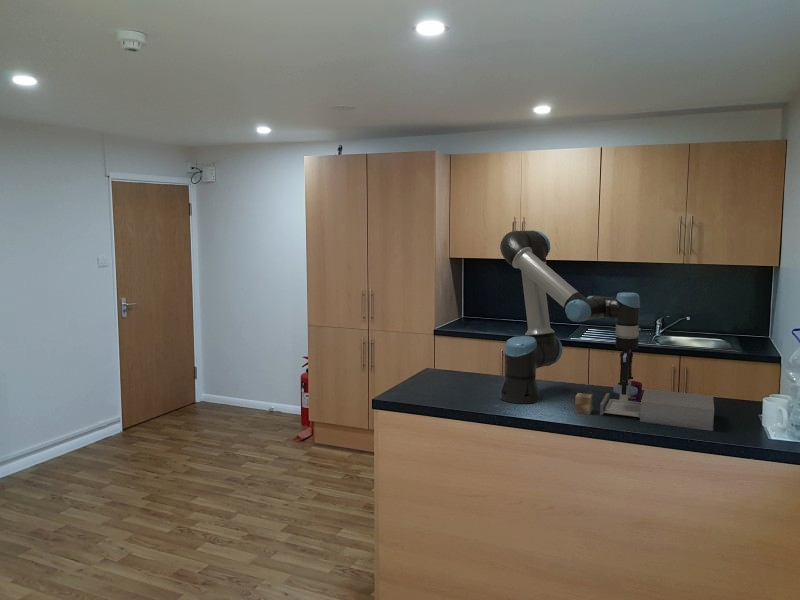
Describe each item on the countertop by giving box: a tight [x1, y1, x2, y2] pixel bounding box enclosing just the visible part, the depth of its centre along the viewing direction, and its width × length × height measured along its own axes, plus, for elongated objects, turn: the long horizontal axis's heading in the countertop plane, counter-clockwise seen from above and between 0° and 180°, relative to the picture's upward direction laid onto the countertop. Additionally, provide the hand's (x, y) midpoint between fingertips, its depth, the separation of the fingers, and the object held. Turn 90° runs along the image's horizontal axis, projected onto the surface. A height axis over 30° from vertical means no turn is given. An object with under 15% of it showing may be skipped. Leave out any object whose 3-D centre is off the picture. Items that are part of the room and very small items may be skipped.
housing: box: [639, 388, 715, 432], centre depth 207 cm, size 22×18×7 cm
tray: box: [599, 392, 641, 418], centre depth 214 cm, size 18×16×4 cm
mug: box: [628, 380, 643, 402], centre depth 231 cm, size 7×10×7 cm
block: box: [574, 392, 593, 416], centre depth 215 cm, size 5×5×6 cm
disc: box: [613, 384, 638, 395], centre depth 214 cm, size 8×8×2 cm
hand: (625, 400), depth 214 cm, fingers closed on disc, 8 cm apart
